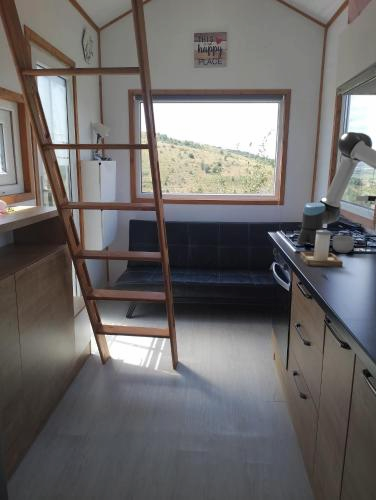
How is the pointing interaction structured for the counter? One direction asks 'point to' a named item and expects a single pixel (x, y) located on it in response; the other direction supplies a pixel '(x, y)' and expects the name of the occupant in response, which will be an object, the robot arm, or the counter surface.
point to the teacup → (343, 243)
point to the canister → (322, 245)
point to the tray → (331, 261)
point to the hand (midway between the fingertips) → (365, 200)
